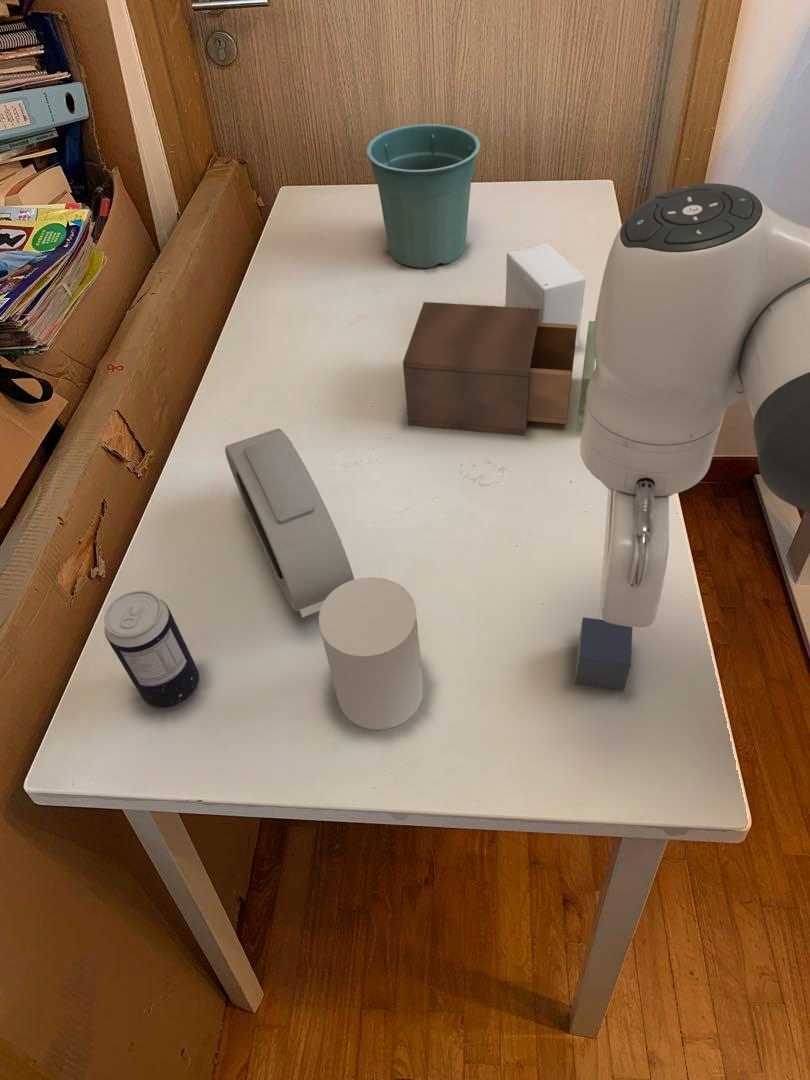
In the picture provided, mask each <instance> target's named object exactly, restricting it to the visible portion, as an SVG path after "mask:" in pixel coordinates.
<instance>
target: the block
mask: <svg viewBox="0 0 810 1080" xmlns="http://www.w3.org/2000/svg"><path fill="white" fill-rule="evenodd" d="M633 628H634V627H628V626H621V625H615V624H611V623H608V622H606V621H604V620H603V619H602V618H601V619H600V618H592V617H582V620H581V626H580V631H579V632H580V633H579V638H578V644H577V655H576V656H577V657H576V667H575V679H574V684H575V685H578V686H579V685H580V686H586V687H594V688H599V689H600V688H601V689H606V690H607V689H608V690H615V691H622V692H624V691H625V690H626V686H627V682H628V678H629V674H630V671H631V666H632V652H633V649H632V648H633Z"/></svg>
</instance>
